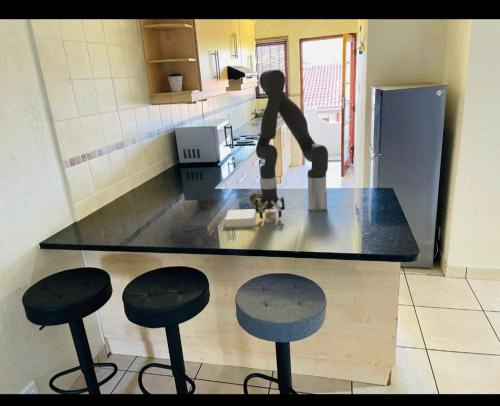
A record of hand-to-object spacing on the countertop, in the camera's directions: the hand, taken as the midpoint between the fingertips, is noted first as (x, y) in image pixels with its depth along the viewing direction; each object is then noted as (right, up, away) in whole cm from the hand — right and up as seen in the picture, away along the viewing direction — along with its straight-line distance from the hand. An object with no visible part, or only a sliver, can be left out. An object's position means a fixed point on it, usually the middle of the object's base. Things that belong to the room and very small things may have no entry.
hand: (270, 218), depth 184 cm
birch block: (0, -1, 0) cm, 1 cm away
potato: (-4, +5, +19) cm, 20 cm away
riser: (-14, -2, +2) cm, 15 cm away
